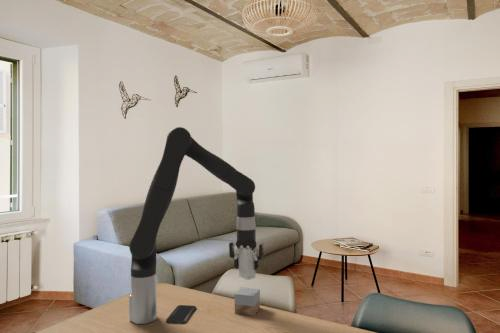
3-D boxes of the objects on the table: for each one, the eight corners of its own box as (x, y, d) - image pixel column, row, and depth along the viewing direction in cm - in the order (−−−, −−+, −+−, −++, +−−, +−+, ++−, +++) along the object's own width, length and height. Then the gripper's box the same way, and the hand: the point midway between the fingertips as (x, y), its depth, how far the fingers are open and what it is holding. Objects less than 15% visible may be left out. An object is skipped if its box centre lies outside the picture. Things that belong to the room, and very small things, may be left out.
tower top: (234, 304, 143) (234, 294, 143) (241, 296, 151) (241, 287, 151) (254, 306, 141) (254, 296, 140) (259, 298, 148) (259, 289, 148)
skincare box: (256, 278, 144) (255, 247, 144) (247, 280, 142) (246, 249, 141) (246, 274, 149) (245, 244, 149) (237, 276, 146) (237, 246, 146)
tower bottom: (234, 314, 143) (234, 304, 143) (241, 306, 151) (241, 296, 151) (254, 316, 141) (254, 306, 141) (259, 308, 148) (259, 298, 148)
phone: (196, 305, 149) (185, 321, 134) (196, 308, 149) (185, 324, 135) (178, 304, 150) (164, 320, 136) (178, 307, 150) (164, 323, 136)
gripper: (225, 228, 143) (226, 270, 144) (261, 230, 139) (261, 273, 140) (231, 225, 151) (232, 265, 151) (265, 226, 147) (266, 267, 147)
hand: (246, 268), depth 145 cm, fingers closed on skincare box, 7 cm apart
